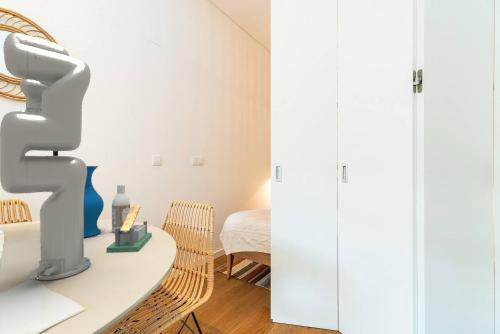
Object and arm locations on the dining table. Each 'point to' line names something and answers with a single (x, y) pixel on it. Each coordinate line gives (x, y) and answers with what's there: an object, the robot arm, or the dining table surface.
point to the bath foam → (120, 208)
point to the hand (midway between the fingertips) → (39, 157)
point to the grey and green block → (130, 239)
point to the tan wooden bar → (130, 219)
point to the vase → (91, 205)
